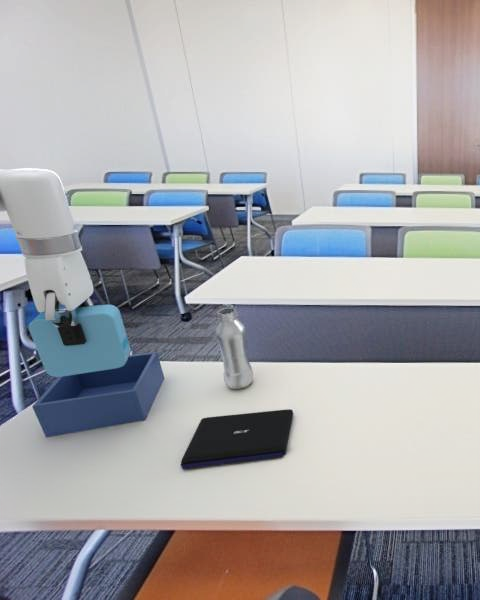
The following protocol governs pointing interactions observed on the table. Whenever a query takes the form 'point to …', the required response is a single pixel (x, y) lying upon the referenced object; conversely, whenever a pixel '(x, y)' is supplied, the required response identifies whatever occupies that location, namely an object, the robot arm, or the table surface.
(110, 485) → the table surface
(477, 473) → the table surface
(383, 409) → the table surface
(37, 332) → the light blue rounded block
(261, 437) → the laptop
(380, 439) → the table surface
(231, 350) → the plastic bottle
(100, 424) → the blue bin
